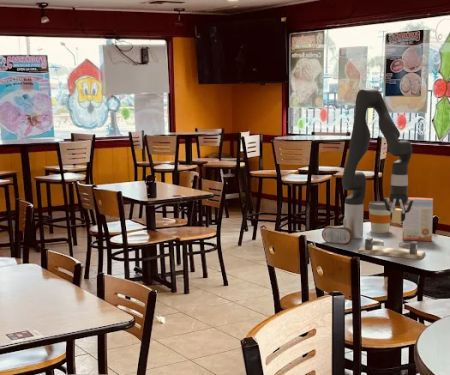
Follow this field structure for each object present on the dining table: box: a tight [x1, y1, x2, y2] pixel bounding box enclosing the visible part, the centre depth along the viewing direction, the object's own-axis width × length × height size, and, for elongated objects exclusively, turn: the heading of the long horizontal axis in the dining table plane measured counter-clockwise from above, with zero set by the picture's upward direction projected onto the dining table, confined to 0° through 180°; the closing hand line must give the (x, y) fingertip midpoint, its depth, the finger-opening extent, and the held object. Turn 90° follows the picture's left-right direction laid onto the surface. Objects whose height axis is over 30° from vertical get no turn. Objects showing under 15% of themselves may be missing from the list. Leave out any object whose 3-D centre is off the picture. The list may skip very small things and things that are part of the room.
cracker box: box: [401, 196, 434, 242], centre depth 343 cm, size 14×6×21 cm, turn 71°
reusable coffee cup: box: [368, 200, 392, 234], centre depth 366 cm, size 13×13×15 cm
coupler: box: [391, 207, 403, 225], centre depth 321 cm, size 5×4×6 cm
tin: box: [321, 225, 354, 245], centre depth 336 cm, size 15×3×8 cm, turn 65°
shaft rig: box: [357, 237, 426, 260], centre depth 313 cm, size 28×10×6 cm, turn 63°
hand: (397, 220), depth 322 cm, fingers closed on coupler, 4 cm apart
